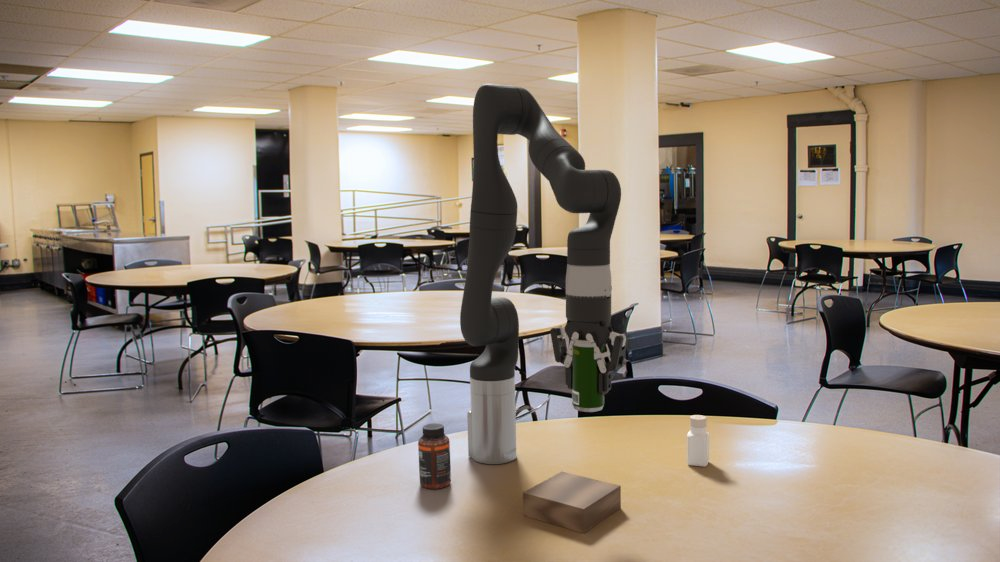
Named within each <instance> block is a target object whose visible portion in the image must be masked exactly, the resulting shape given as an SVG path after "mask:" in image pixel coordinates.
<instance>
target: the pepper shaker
mask: <svg viewBox="0 0 1000 562" xmlns="http://www.w3.org/2000/svg"><path fill="white" fill-rule="evenodd" d="M707 420H708V419H707V417H706V416H705V415H701V414H693V415H690V416H689V427H690V430H689V431H688V432H687V434H686V463H687V465H688V466H695V467H703V468H705V467H707V466H708V464H709V461H710V433H709V432H707V427H708V426H707V424H708V423H707Z"/></svg>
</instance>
